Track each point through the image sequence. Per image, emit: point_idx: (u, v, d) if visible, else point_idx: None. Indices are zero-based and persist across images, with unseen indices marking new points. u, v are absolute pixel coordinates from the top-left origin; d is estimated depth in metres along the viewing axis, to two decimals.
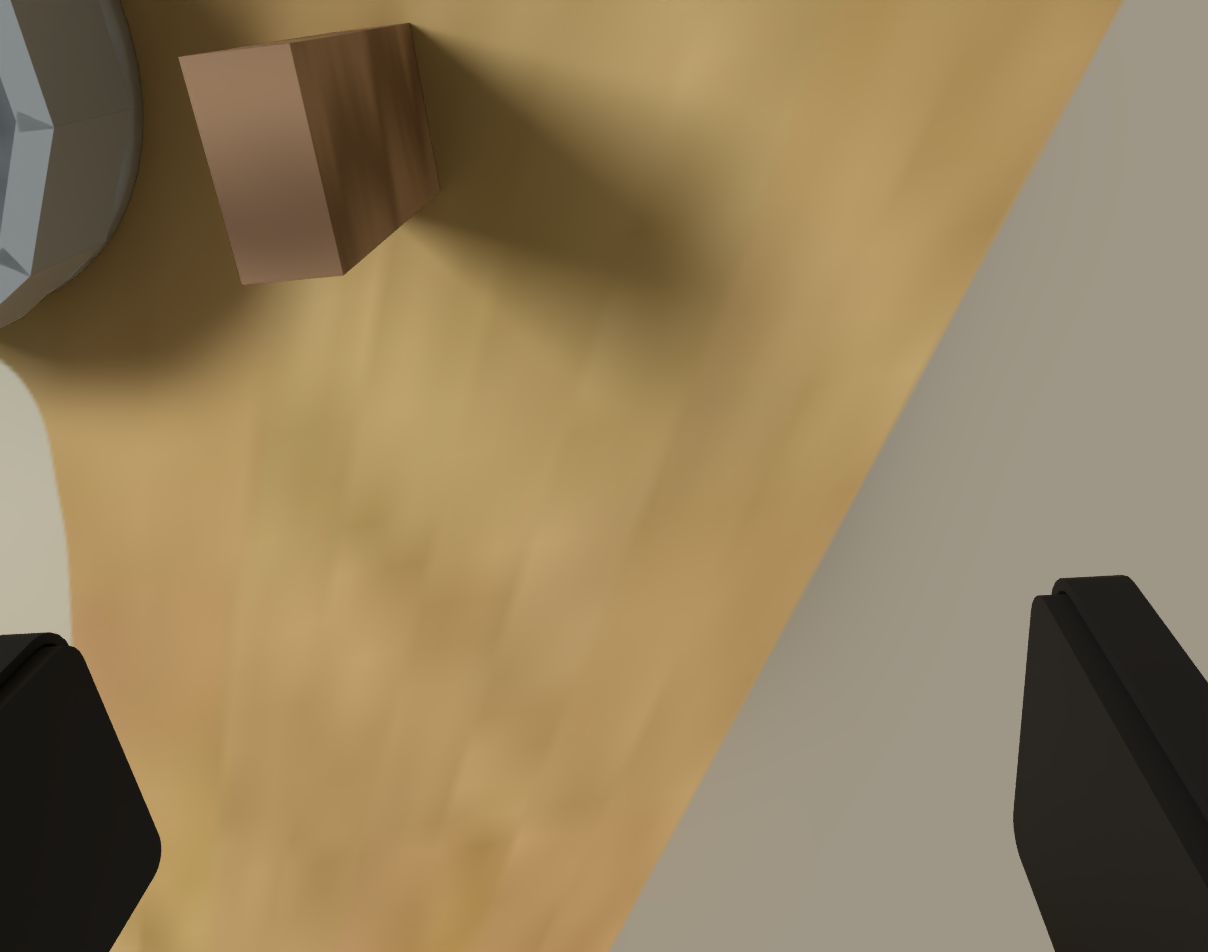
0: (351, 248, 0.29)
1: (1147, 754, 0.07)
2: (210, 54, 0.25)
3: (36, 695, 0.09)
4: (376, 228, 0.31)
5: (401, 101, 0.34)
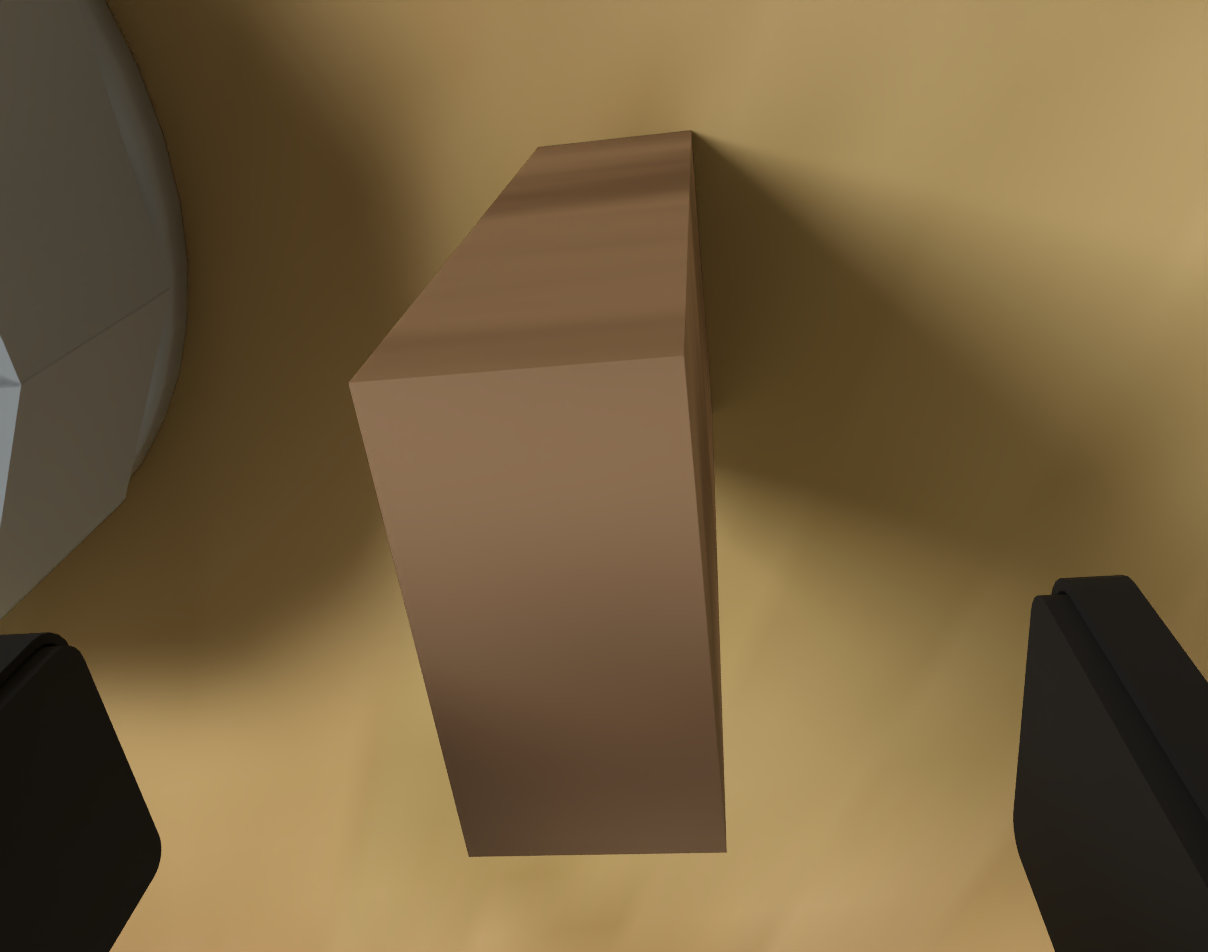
0: (721, 750, 0.12)
1: (1147, 754, 0.07)
2: (443, 377, 0.09)
3: (36, 695, 0.09)
4: (717, 625, 0.14)
5: (700, 296, 0.18)
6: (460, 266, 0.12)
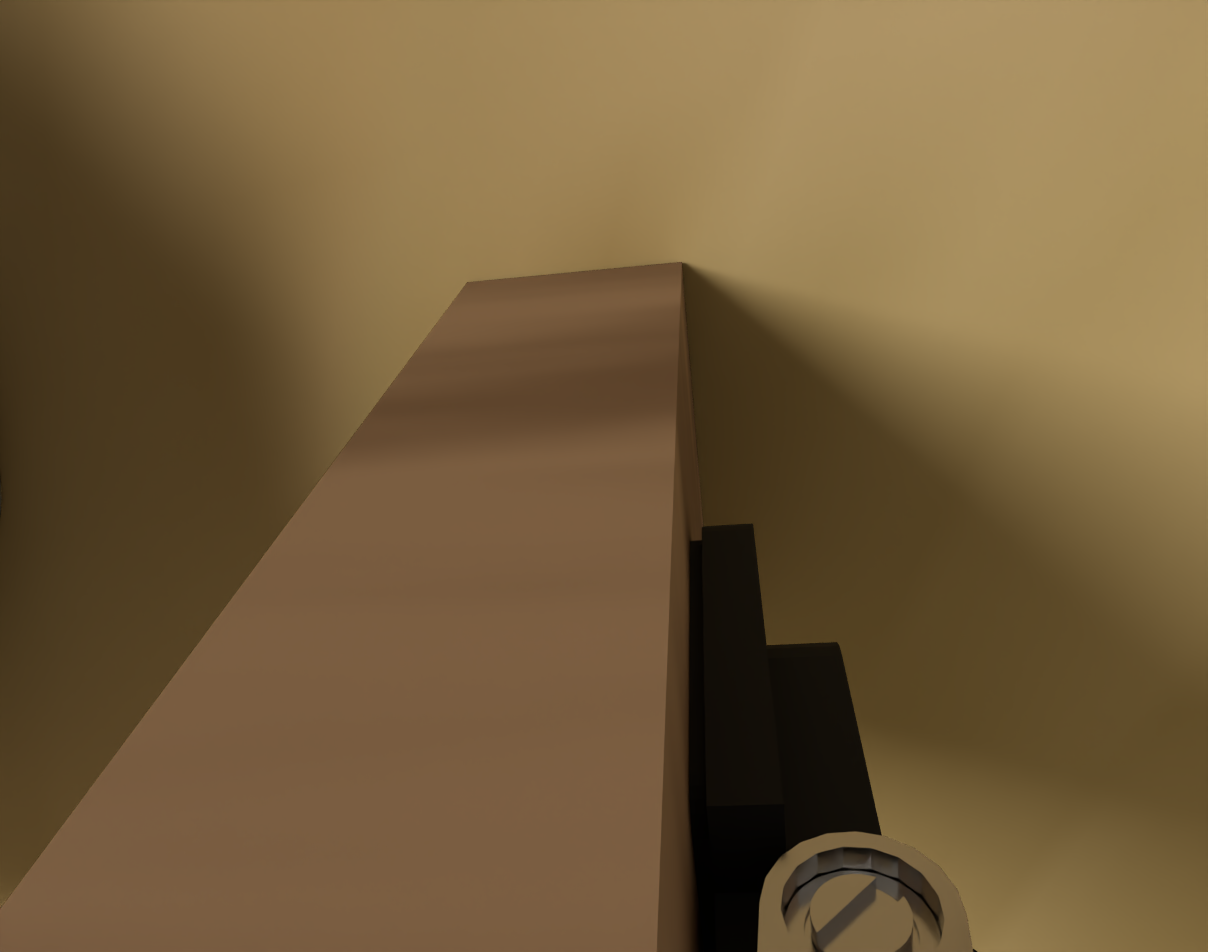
0: None
1: (692, 658, 0.08)
2: None
3: None
4: None
5: (694, 518, 0.12)
6: (240, 633, 0.06)
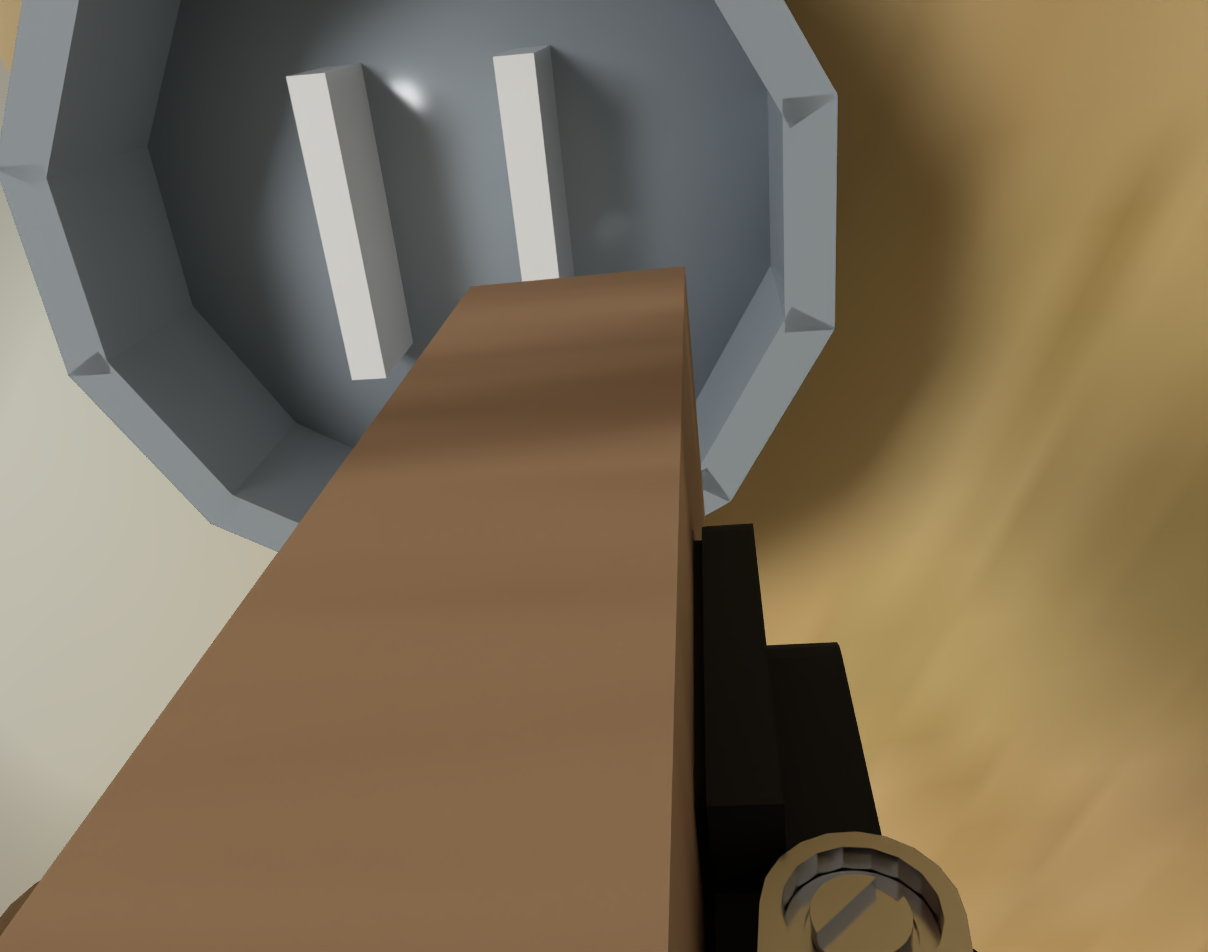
0: None
1: None
2: None
3: None
4: None
5: (698, 523, 0.12)
6: (248, 641, 0.06)
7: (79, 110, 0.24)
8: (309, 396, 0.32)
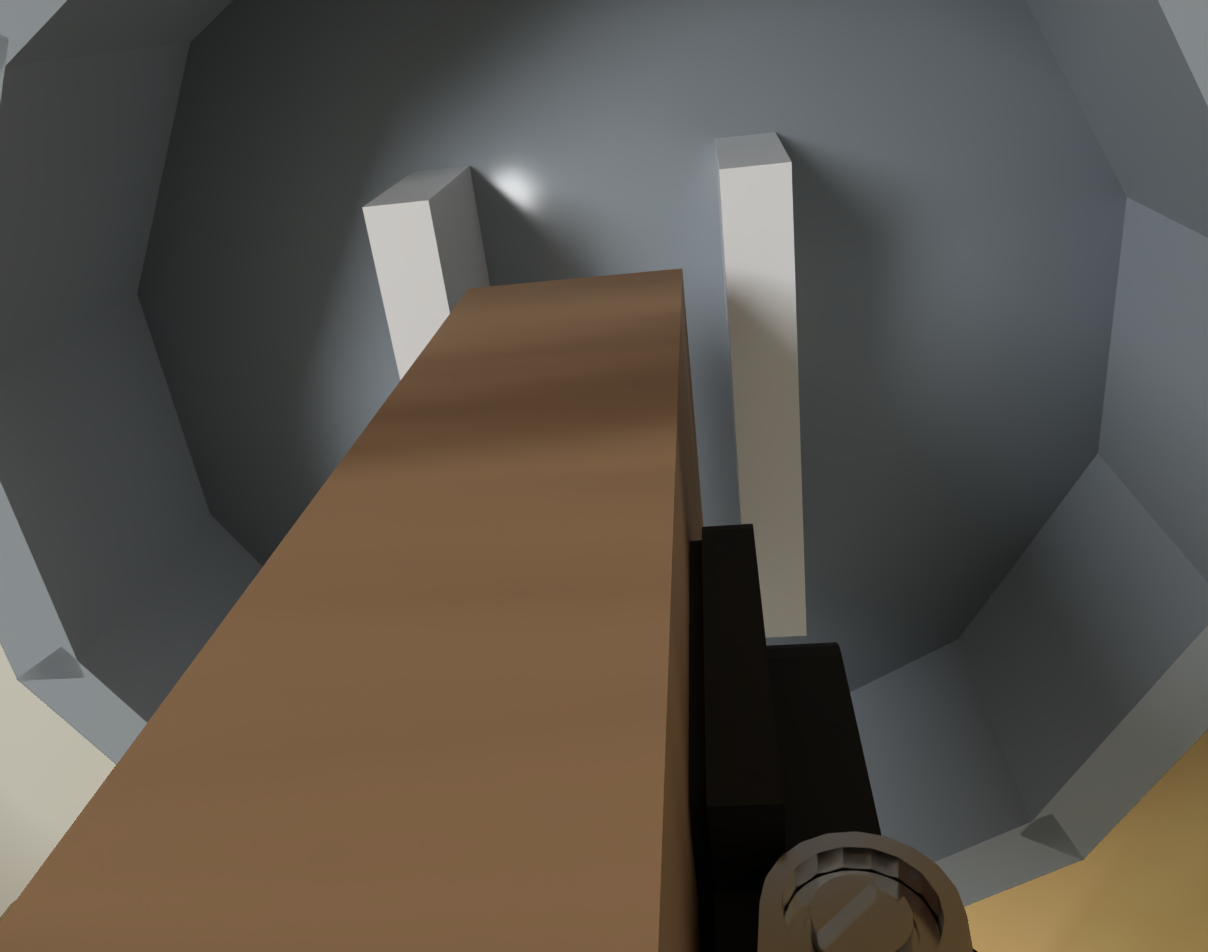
0: None
1: (692, 658, 0.08)
2: None
3: None
4: None
5: (696, 523, 0.12)
6: (244, 639, 0.06)
7: (17, 276, 0.14)
8: None
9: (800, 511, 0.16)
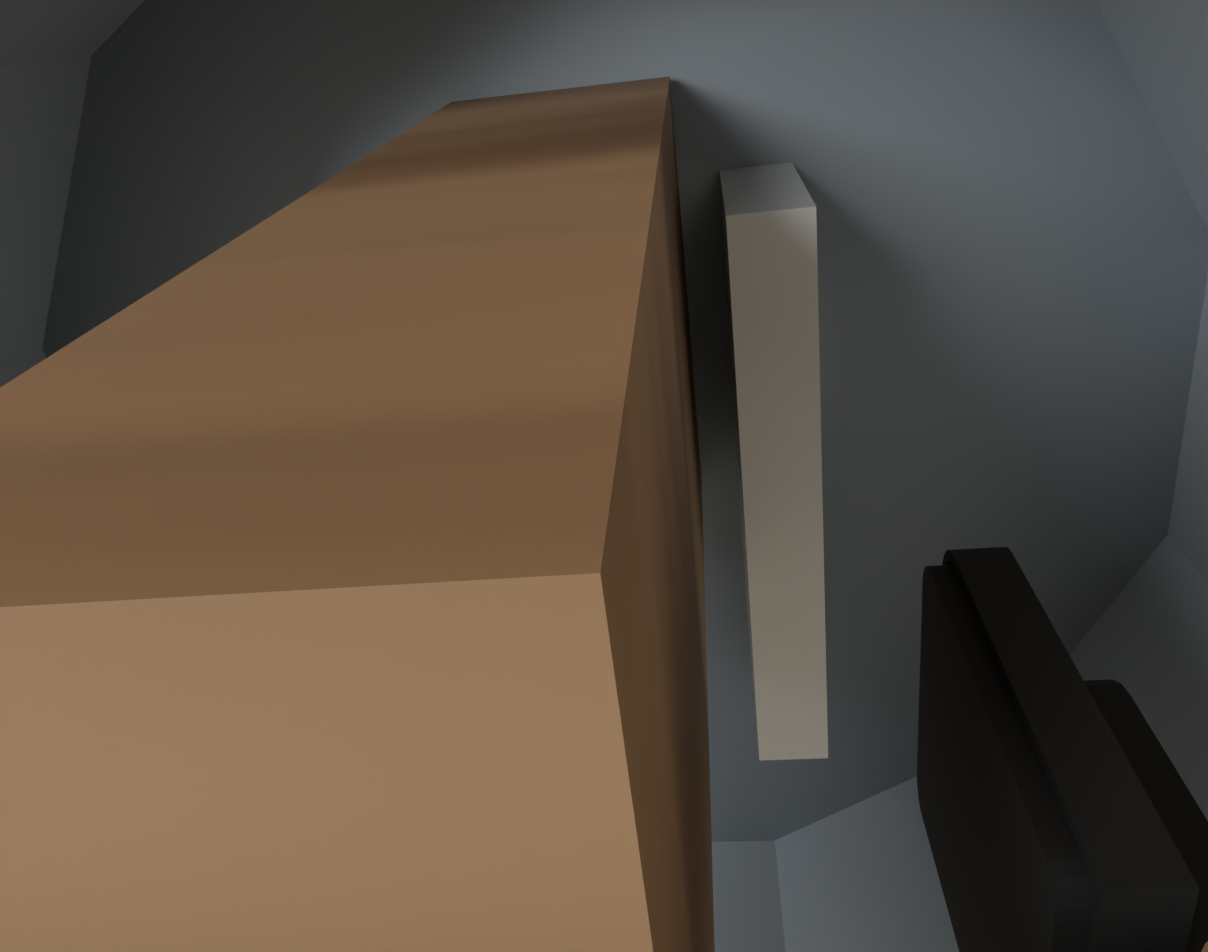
0: None
1: (998, 704, 0.07)
2: None
3: None
4: (709, 885, 0.08)
5: (683, 317, 0.12)
6: (207, 276, 0.06)
7: None
8: None
9: (822, 618, 0.13)
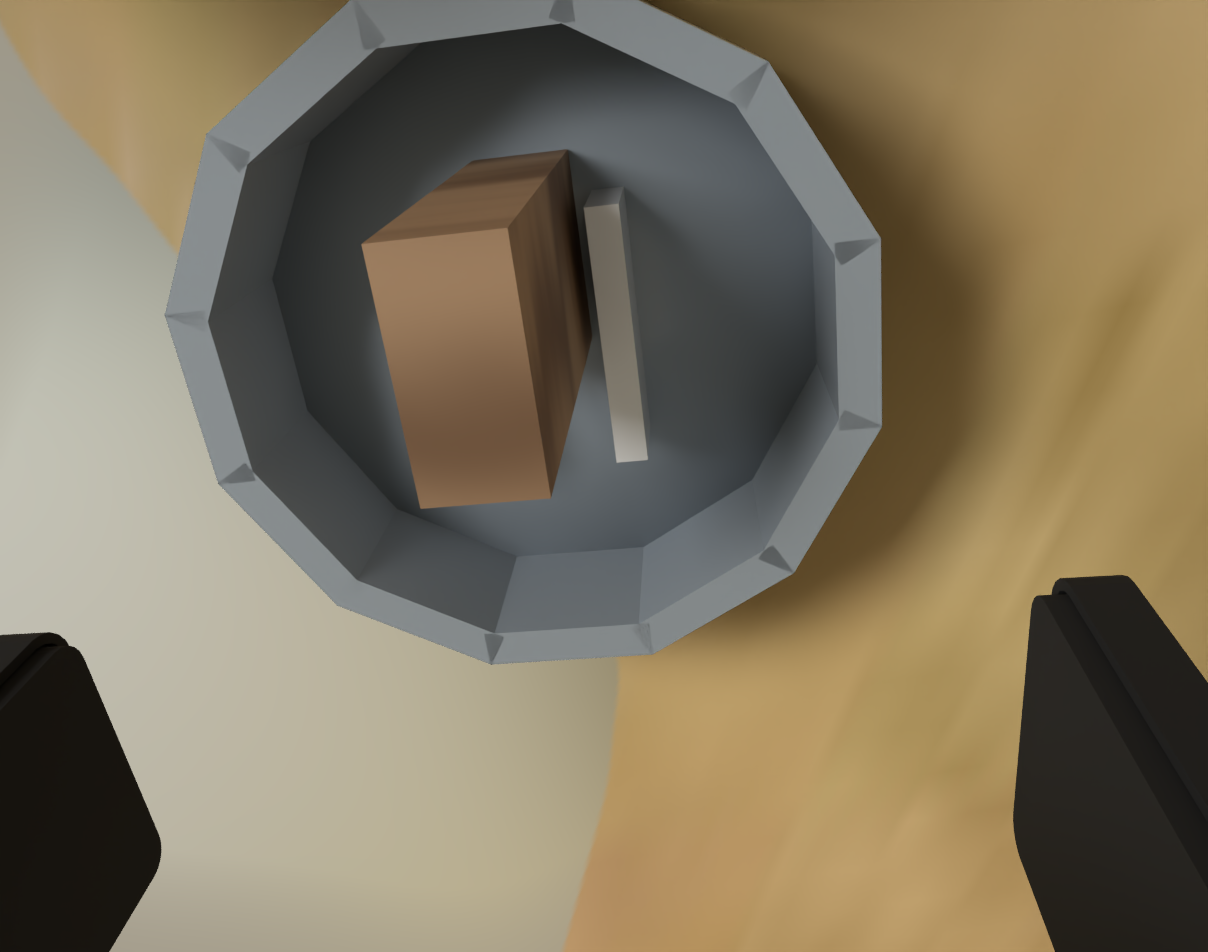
0: (553, 458, 0.23)
1: (1147, 755, 0.07)
2: (403, 240, 0.20)
3: (36, 695, 0.09)
4: (564, 417, 0.25)
5: (569, 246, 0.29)
6: (416, 209, 0.23)
7: (234, 264, 0.28)
8: (409, 485, 0.36)
9: (638, 387, 0.30)
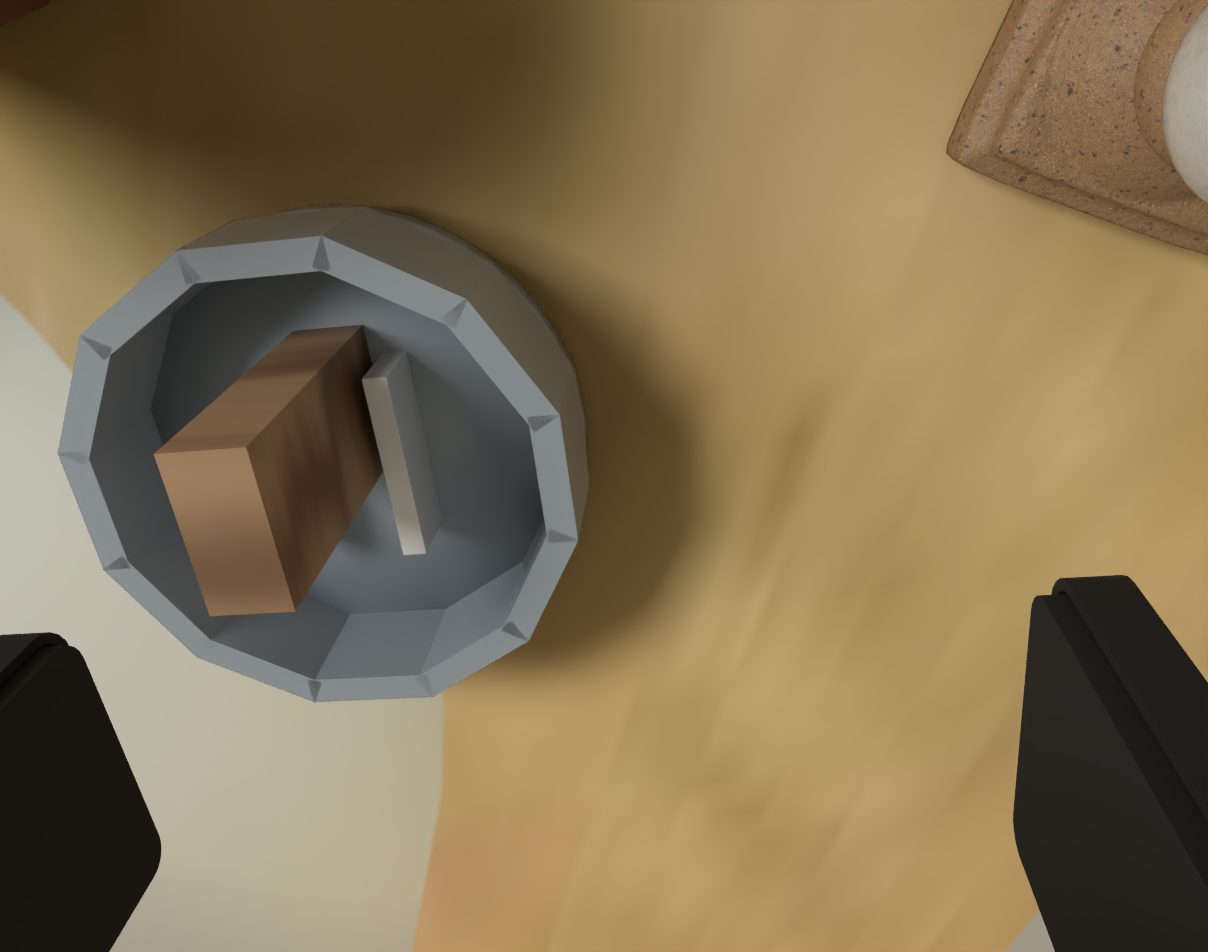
0: (303, 580, 0.34)
1: (1147, 754, 0.07)
2: (180, 452, 0.30)
3: (36, 695, 0.09)
4: (327, 543, 0.36)
5: (353, 404, 0.39)
6: (212, 408, 0.34)
7: (108, 415, 0.39)
8: None
9: (414, 502, 0.41)
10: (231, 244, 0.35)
